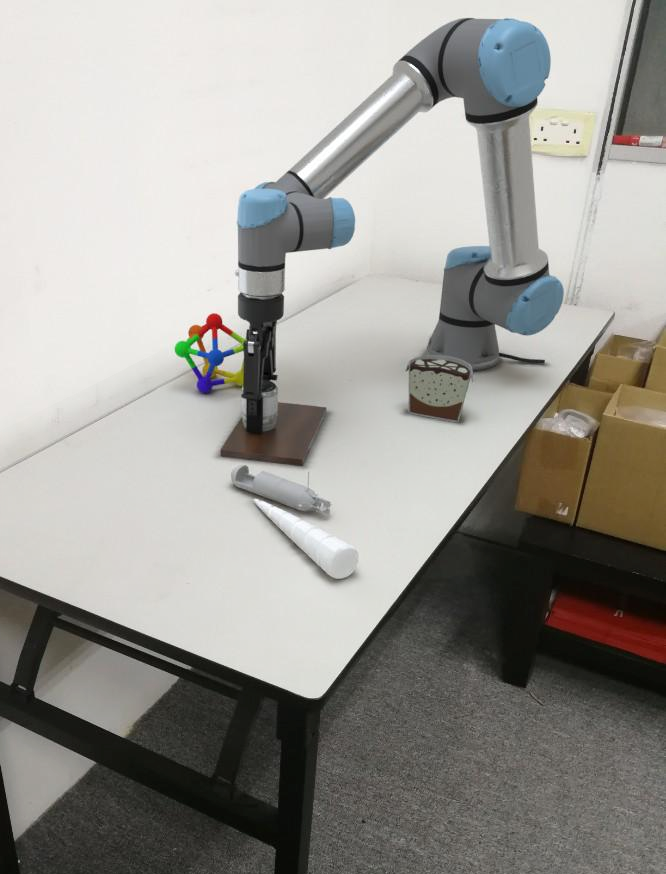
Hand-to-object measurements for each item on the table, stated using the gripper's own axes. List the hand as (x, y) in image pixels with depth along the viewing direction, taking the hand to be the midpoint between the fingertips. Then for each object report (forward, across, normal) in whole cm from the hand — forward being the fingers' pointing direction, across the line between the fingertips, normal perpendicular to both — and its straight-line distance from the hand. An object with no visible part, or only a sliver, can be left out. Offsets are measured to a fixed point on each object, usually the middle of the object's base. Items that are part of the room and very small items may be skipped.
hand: (259, 423), depth 151 cm
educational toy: (+2, -17, -13) cm, 21 cm away
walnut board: (+2, 0, +3) cm, 3 cm away
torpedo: (+2, +23, +9) cm, 25 cm away
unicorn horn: (+2, +34, +14) cm, 37 cm away
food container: (+2, -17, +30) cm, 35 cm away
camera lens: (+1, 0, 0) cm, 1 cm away
